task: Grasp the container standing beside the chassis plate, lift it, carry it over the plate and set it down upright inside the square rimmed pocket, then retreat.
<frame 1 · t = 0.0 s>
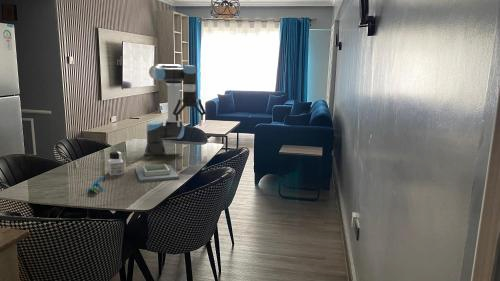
hand: (189, 125, 234), 28 cm above the table, fingers open, 13 cm apart
chassis: (156, 174, 228), on the table
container: (116, 173, 228), on the table
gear: (95, 191, 196), on the table
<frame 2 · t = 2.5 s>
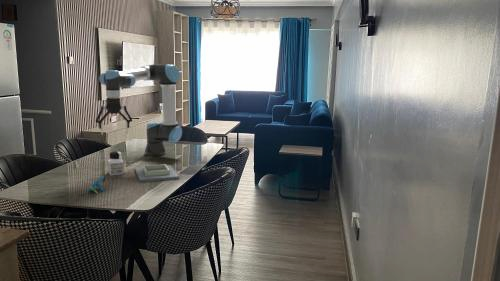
hand: (114, 133, 223), 24 cm above the table, fingers open, 13 cm apart
nothing on the table moved.
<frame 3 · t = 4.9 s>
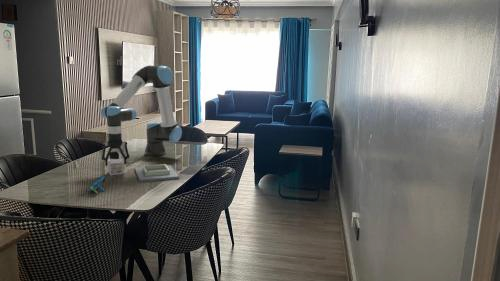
hand: (116, 170, 227), 2 cm above the table, fingers closed on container, 8 cm apart
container: (116, 173, 228), on the table, touching gripper
everything else where it was.
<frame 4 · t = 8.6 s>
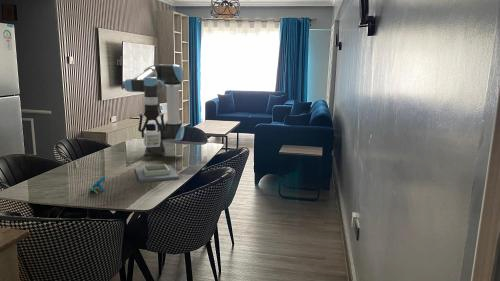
hand: (152, 142, 224), 19 cm above the table, fingers closed on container, 8 cm apart
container: (152, 146, 224), point 17 cm above the table, touching gripper
everything else where it was.
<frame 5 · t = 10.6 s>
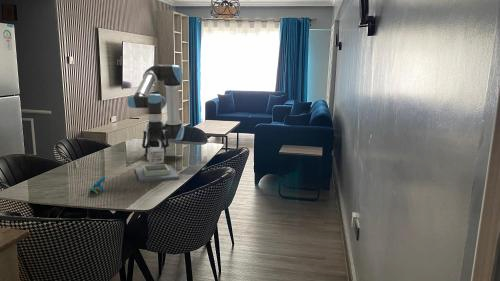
hand: (155, 158, 226), 10 cm above the table, fingers closed on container, 8 cm apart
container: (155, 161, 226), point 8 cm above the table, touching gripper
when the fingers open (5 cm above the table, at t = 12.3 s): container drops 2 cm, resting on chassis.
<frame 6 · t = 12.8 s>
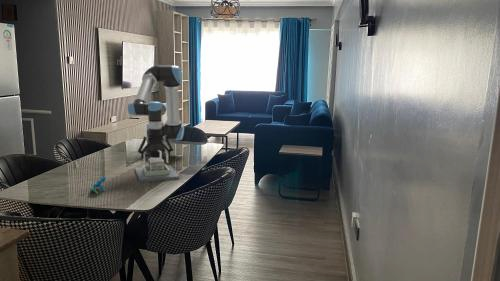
hand: (155, 163, 227), 7 cm above the table, fingers open, 13 cm apart
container: (156, 172, 228), point 1 cm above the table, touching chassis
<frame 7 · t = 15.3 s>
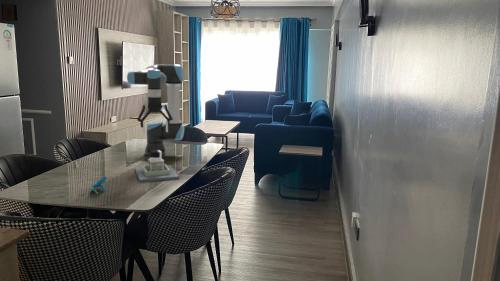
hand: (155, 132, 226), 25 cm above the table, fingers open, 13 cm apart
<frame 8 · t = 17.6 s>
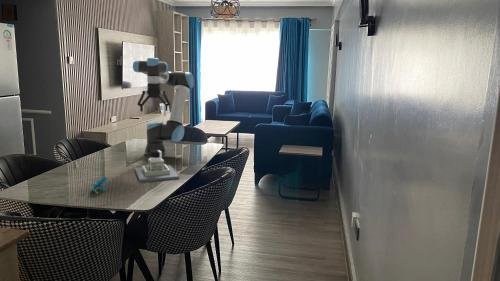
hand: (154, 116, 244), 32 cm above the table, fingers open, 13 cm apart
at the end: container 0.2 cm off-centre on the chassis, point 1.3 cm above the chassis's base; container tilted 0°; the gripper is holding nothing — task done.
